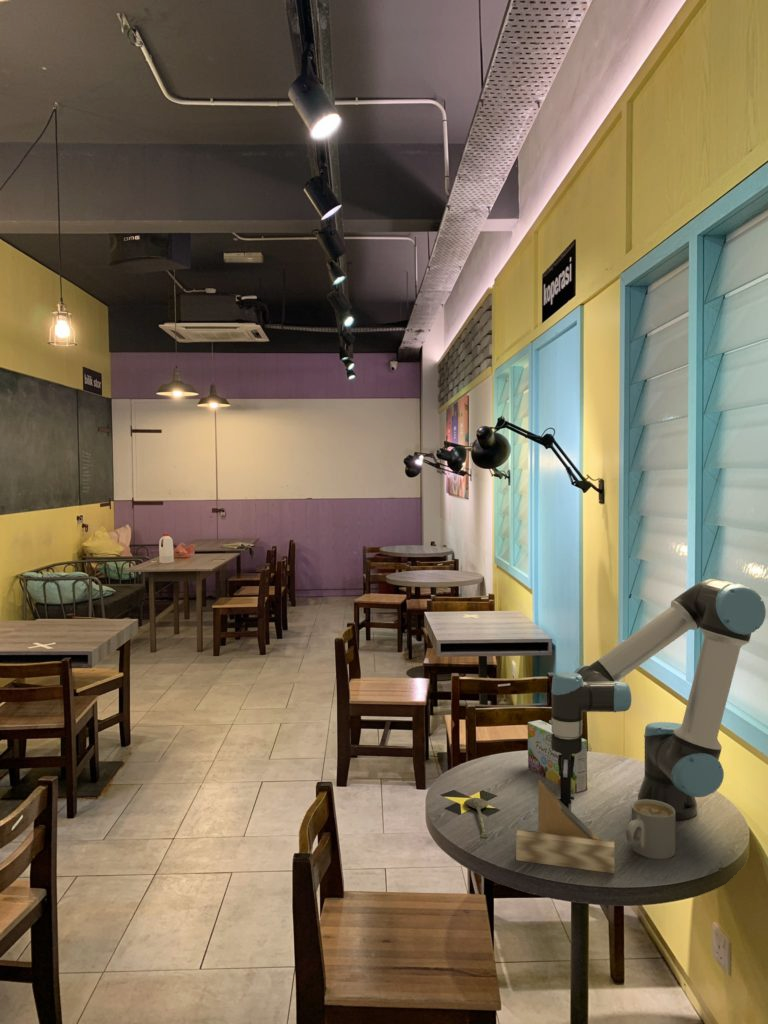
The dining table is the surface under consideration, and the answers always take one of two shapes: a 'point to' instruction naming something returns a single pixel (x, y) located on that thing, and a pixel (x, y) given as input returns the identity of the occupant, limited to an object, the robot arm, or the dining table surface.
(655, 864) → the dining table surface
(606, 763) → the dining table surface
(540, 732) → the snack box
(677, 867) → the dining table surface
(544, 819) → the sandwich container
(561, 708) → the robot arm
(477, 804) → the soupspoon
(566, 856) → the birch board
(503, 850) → the dining table surface
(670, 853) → the coffee mug
